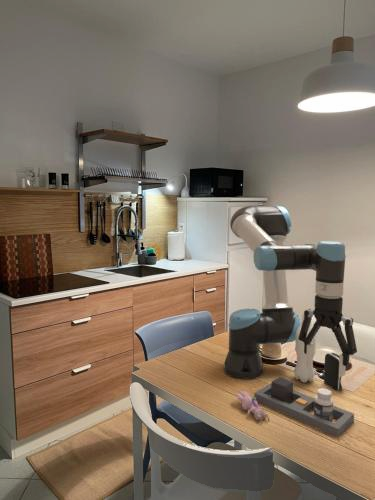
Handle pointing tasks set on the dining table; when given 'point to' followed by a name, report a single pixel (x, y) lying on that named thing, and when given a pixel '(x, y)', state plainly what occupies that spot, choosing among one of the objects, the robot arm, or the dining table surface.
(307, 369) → the water bottle
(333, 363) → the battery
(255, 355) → the robot arm
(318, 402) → the pill bottle
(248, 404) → the rabbit figure
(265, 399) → the gray rectangular open frame
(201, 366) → the dining table surface
